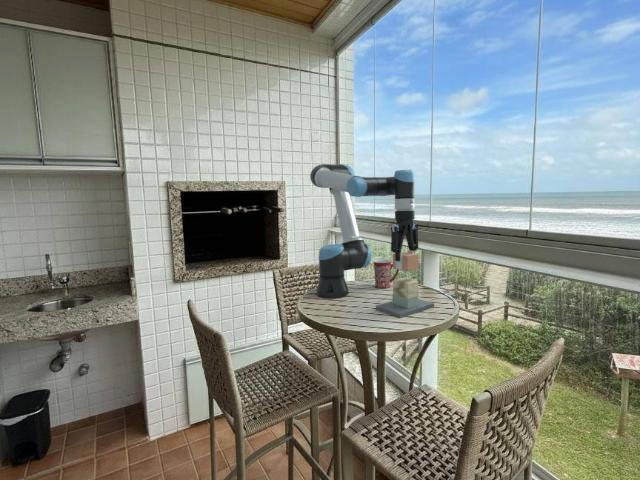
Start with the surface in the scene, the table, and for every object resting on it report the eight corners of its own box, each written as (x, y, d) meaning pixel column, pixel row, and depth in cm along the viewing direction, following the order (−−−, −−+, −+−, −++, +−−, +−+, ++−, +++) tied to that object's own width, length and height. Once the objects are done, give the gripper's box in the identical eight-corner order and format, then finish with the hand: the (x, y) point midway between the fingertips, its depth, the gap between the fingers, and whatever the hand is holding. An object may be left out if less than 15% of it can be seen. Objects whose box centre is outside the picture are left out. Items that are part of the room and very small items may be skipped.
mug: (374, 289, 164) (374, 262, 163) (372, 284, 173) (372, 259, 172) (400, 289, 163) (400, 262, 162) (397, 284, 172) (397, 258, 171)
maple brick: (393, 294, 136) (392, 280, 135) (403, 291, 139) (403, 277, 139) (408, 298, 129) (408, 283, 129) (418, 295, 133) (418, 281, 132)
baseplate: (375, 309, 135) (375, 296, 134) (409, 299, 146) (408, 287, 146) (400, 318, 124) (400, 303, 124) (434, 306, 136) (434, 293, 135)
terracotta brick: (392, 268, 135) (392, 253, 134) (403, 266, 138) (403, 252, 137) (407, 271, 128) (407, 256, 127) (418, 269, 131) (418, 254, 131)
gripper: (394, 211, 122) (395, 272, 125) (428, 208, 133) (428, 265, 135) (380, 211, 128) (381, 269, 131) (413, 208, 139) (413, 263, 142)
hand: (405, 267), depth 133 cm, fingers closed on terracotta brick, 6 cm apart
